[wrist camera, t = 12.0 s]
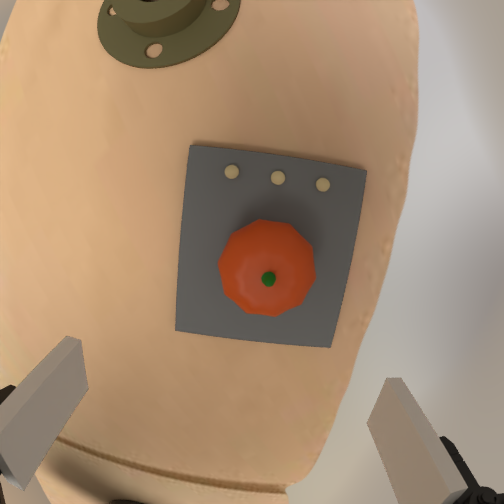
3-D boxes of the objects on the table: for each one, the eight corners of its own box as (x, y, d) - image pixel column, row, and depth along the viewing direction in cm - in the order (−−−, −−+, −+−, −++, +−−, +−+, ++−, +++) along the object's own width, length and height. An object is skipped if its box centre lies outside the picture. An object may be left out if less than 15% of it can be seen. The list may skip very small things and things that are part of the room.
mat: (328, 343, 32) (331, 349, 31) (177, 325, 32) (174, 332, 31) (363, 170, 28) (368, 170, 27) (191, 145, 28) (188, 144, 26)
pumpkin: (226, 209, 28) (217, 223, 21) (316, 222, 28) (336, 239, 21) (217, 289, 30) (206, 326, 23) (301, 300, 30) (314, 339, 23)
